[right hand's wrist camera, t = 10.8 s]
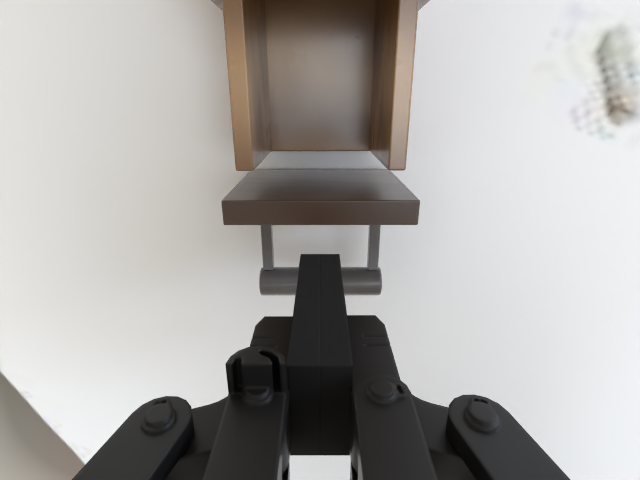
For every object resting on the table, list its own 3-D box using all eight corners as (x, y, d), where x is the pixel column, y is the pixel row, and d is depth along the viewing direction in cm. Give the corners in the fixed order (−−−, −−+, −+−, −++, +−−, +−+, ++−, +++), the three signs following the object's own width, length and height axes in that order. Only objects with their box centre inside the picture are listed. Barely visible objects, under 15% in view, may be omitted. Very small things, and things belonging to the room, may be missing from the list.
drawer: (383, 267, 28) (407, 332, 20) (257, 267, 28) (233, 333, 20) (408, -128, 20) (465, -275, 12) (232, -128, 20) (175, -275, 12)
